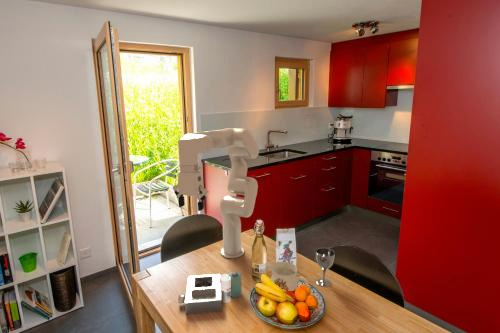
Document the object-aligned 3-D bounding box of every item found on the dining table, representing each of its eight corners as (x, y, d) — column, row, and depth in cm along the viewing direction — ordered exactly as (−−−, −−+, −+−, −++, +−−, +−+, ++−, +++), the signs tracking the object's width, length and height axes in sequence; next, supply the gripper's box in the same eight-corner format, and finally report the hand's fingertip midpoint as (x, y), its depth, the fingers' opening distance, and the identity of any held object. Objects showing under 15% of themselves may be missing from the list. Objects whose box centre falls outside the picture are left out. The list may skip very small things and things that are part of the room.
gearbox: (182, 286, 137) (181, 271, 136) (220, 283, 139) (220, 268, 137) (177, 314, 120) (176, 297, 118) (221, 311, 122) (221, 294, 120)
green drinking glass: (228, 290, 134) (228, 270, 132) (240, 289, 135) (240, 269, 133) (229, 298, 129) (228, 277, 127) (241, 297, 130) (241, 276, 128)
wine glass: (334, 287, 136) (336, 256, 132) (316, 287, 136) (318, 256, 132) (330, 277, 143) (331, 247, 140) (313, 277, 143) (314, 247, 140)
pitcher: (304, 311, 121) (305, 279, 118) (261, 299, 128) (261, 270, 125) (310, 294, 131) (311, 265, 128) (270, 284, 138) (270, 256, 135)
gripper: (212, 168, 125) (213, 208, 129) (177, 164, 132) (180, 202, 136) (201, 172, 118) (203, 214, 122) (166, 168, 126) (168, 207, 129)
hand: (191, 208), depth 129 cm, fingers open, 9 cm apart
